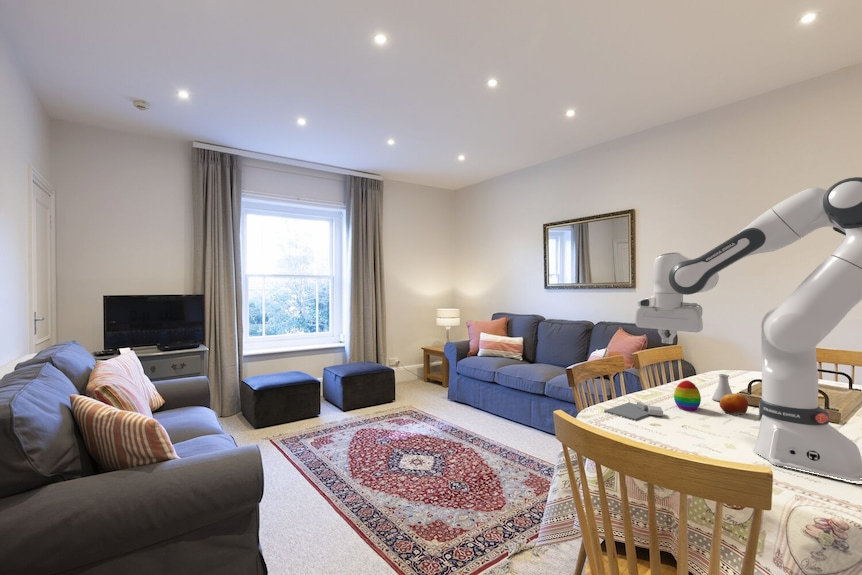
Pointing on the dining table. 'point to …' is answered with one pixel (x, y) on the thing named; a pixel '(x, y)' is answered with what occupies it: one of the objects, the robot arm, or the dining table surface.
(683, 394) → the decorative egg
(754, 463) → the dining table surface
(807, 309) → the robot arm
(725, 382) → the flask
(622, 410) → the mat
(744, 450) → the dining table surface
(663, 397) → the dining table surface
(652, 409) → the lighter
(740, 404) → the fruit
